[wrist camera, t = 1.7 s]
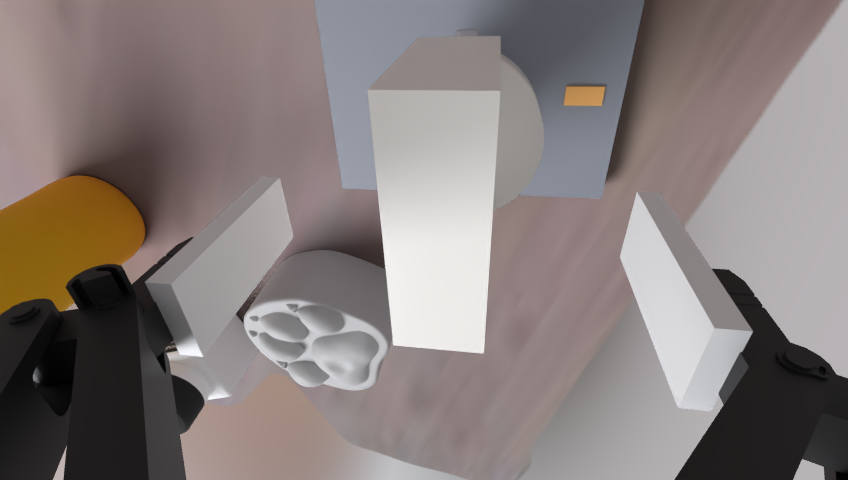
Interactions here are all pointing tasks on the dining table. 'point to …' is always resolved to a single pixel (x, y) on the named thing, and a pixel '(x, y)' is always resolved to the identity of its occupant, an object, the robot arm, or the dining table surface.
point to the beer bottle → (64, 238)
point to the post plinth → (520, 42)
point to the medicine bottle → (209, 371)
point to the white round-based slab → (448, 180)
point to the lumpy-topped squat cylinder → (324, 319)
